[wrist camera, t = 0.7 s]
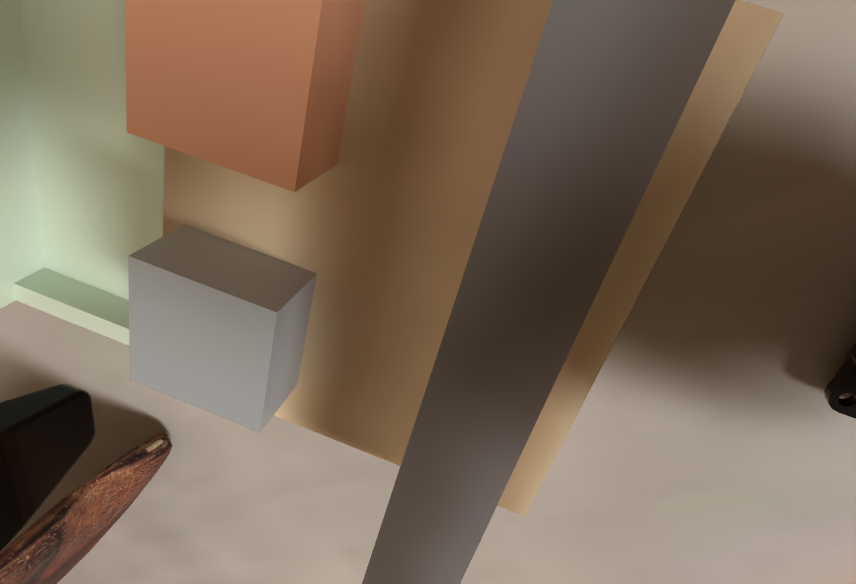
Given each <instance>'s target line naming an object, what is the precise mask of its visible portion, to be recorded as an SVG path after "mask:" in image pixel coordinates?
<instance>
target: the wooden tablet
mask: <svg viewBox="0 0 856 584" xmlns="http://www.w3.org/2000/svg"><path fill="white" fill-rule="evenodd" d="M171 448H172V444H171V441H170V439H169V438H168V437H167V436H164V435H157V436H154V437H153V438H151V439H149V440H148V441H146V442H144V443H143V444H141V445H140V446H138V447H136V448H134V449H132V450H131V451H129V452H128V453H127V454H125V455H124V456H122V457H120V458H119V459H117V460H116V461H115V462H113V463H112V464H111V465H109V466H108V467H107V468H105V469H104V470H103V471H101V472H100V473H99V474H98V475H96V476H95V477H94V478H92V479H91V480H90V481H88V482H87V483H85V484H83V485H82V486H80V487H79V488H77V489H76V490H75V491H73V492H72V493H71V494H69V495H68V496H67V497H65V498H64V499H63V500H61V501H60V502H59V503H57V504H56V505H55V506H54V507H52V508H51V509H50V510H49V511H48V512H47V513H45V514H44V515H43V516H42V517H41V518H40V519H39V520H37V521H36V522H35V523H34V524H33V525H32V526H31V527H30V528H29V529H27V530H26V531H25V532H24V533H23V534H21V535H20V536H19V537H18V538H16V539H15V540H14V541H13V542H12V543H11V544H9V545H8V546H7V547H6V548H5V549H4V550H3V551H2V552H1V553H0V584H57V583H58V582H59V581H60V580H61V579H62V578H63V577H64V576H65V575H66V574H67V573H68V572H69V571H70V570H71V569H72V568H73V567H74V566H75V565H76V564H77V563H78V562H79V561H80V560H81V559H82V558H83V557H84V556H85V555H86V554H87V553H88V552H89V551H90V550H91V549H92V548H93V547H94V546H95V545H96V543H97V542H98V541H99V540H100V539H101V538H102V537H103V536H104V535H105V533H106V532H107V531H108V530H109V529H110V528H111V527H112V525H113V524H114V523H115V522H116V521H117V520H118V519H119V518H120V517H121V515H122V514H123V513H124V512H125V511H126V510H127V509H128V507H129V506H130V505H131V504H132V503H133V501H134V500H135V499H136V498H137V496H138V495H139V494H140V493H141V491H142V490H143V489H144V487H145V486H146V485H147V484H148V482H149V481H150V480H151V479H152V477H153V476H154V475H155V473H156V472H157V471H158V469H159V468H160V467H161V465H162V464H163V462H164V461H165V459H166V458H167V456H168V455H169V453H170V450H171Z"/></svg>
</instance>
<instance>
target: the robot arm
mask: <svg viewBox="0 0 856 584" xmlns="http://www.w3.org/2000/svg"><path fill="white" fill-rule="evenodd" d="M850 353H851V355H850V357H849V358H848V359H847V361H846V362H845V363H844V364H843V366H842V367H841V368H840V369H839V371H838V372H837V373H836V375H835V376H834V377H833V378H832V380H831V381H830V382H829V383H828V385H827V386H826V388H825V390H824V394H825V398H826V400H827V401H828V403H829V405H830V406H831V408H832V409H833V410H835V411H837V412H839V413H842V414H845V415H847V416H850V417H853V418H856V343H855V344H854V345H853V346H852V348H851V349H850ZM844 393H853V394H852V395H851V396H850V397H849V398H845V399H841V398H839V396H841V395H842V394H844ZM95 431H96V426H95V420H94V413H93V407H92V401H91V397H90V395H89V393H88V392H87V391H85V390H82V389H79V388H77V387H74V386H71V385H68V384H60V385H56V386H53V387H50V388H46V389H43V390H40V391H37V392H33V393H30V394H27V395H23V396H20V397H17V398H14V399H10V400H7V401H4V402H0V552H1V551H2V550H3V549H4V548H5V546H6V545H7V544H8V543H9V542H10V541H11V540H12V539H13V538H14V537H15V536H16V535H17V534H18V533H19V531H20V530H21V529H22V528H23V527H24V526H25V525H26V524H27V522H28V521H29V520H30V519H31V518H32V516H33V515H34V514H35V513H36V512H37V510H38V509H39V508H40V507H41V505H42V504H43V503H44V502H45V500H46V499H47V498H48V497H49V495H50V494H51V493H52V492H53V490H54V489H55V488H56V487H57V485H58V484H59V483H60V482H61V480H62V479H63V478H64V477H65V475H66V474H67V473H68V472H69V470H70V469H71V468H72V467H73V465H74V464H75V463H76V462H77V460H78V459H79V458H80V457H81V455H82V454H83V453H84V452H85V450H86V449H87V448H88V447H89V445H90V444H91V442H92V440H93V438H94V436H95Z"/></svg>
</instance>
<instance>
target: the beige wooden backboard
mask: <svg viewBox="0 0 856 584" xmlns="http://www.w3.org/2000/svg"><path fill="white" fill-rule="evenodd" d="M552 3H553V0H366V2H365V8H364V13H363V19H362V24H361V30H360V36H359V41H358V47H357V52H356V58H355V64H354V69H353V75H352V80H351V86H350V92H349V97H348V103H347V108H346V114H345V120H344V125H343V131H342V136H341V142H340V148H339V153H338V159H337V164H336V165H335V166H334V167H332V168H331V169H329V170H328V171H326V172H325V173H323V174H322V175H320V176H319V177H317V178H316V179H314V180H312V181H311V182H309V183H308V184H306V185H305V186H303V187H302V188H300V189H299V190H297V191H296V192H292V191H290V190H287V189H284V188H281V187H278V186H276V185H273V184H270V183H267V182H264V181H262V180H259V179H256V178H253V177H250V176H248V175H245V174H242V173H239V172H236V171H234V170H231V169H228V168H225V167H222V166H220V165H217V164H214V163H211V162H208V161H205V160H203V159H200V158H197V157H194V156H191V155H189V154H186V153H183V152H180V151H177V150H175V149H172V148H169V147H166V146H165V152H164V199H163V236H165V235H166V234H168V233H170V232H172V231H174V230H175V229H177V228H179V227H181V226H182V225H184V224H185V225H188V226H190V227H193V228H196V229H198V230H201V231H204V232H207V233H209V234H212V235H215V236H217V237H220V238H223V239H225V240H228V241H231V242H233V243H236V244H239V245H242V246H244V247H247V248H250V249H252V250H255V251H258V252H260V253H263V254H266V255H269V256H271V257H274V258H277V259H279V260H282V261H285V262H287V263H290V264H293V265H295V266H298V267H301V268H304V269H306V270H309V271H312V272H314V273H317V276H316V282H315V288H314V293H313V299H312V304H311V310H310V316H309V321H308V327H307V332H306V338H305V344H304V349H303V355H302V360H301V366H300V372H299V377H298V383H297V386H296V387H295V388H294V390H293V391H292V392H291V393H290V395H289V396H288V397H287V399H286V400H285V401H284V402H283V404H282V405H281V406H280V408H279V409H278V410H277V411H276V413H275V414H274V415H275V416H277V417H280V418H282V419H285V420H287V421H290V422H292V423H295V424H297V425H300V426H302V427H304V428H307V429H309V430H312V431H314V432H317V433H319V434H322V435H324V436H327V437H329V438H332V439H334V440H337V441H339V442H342V443H344V444H347V445H349V446H352V447H354V448H357V449H359V450H362V451H364V452H367V453H369V454H372V455H374V456H376V457H379V458H381V459H384V460H386V461H389V462H391V463H394V464H396V465H399V466H401V464H402V461H403V457H404V454H405V451H406V448H407V445H408V442H409V439H410V436H411V433H412V430H413V427H414V424H415V421H416V418H417V415H418V412H419V409H420V406H421V403H422V399H423V396H424V393H425V390H426V387H427V384H428V381H429V378H430V375H431V372H432V369H433V366H434V363H435V360H436V357H437V354H438V351H439V348H440V345H441V342H442V338H443V335H444V332H445V329H446V326H447V323H448V320H449V317H450V314H451V311H452V308H453V305H454V302H455V299H456V296H457V293H458V290H459V287H460V284H461V280H462V277H463V274H464V271H465V268H466V265H467V262H468V259H469V256H470V253H471V250H472V247H473V244H474V241H475V238H476V235H477V232H478V229H479V226H480V222H481V219H482V216H483V213H484V210H485V207H486V204H487V201H488V198H489V195H490V192H491V189H492V186H493V183H494V180H495V177H496V174H497V171H498V168H499V164H500V161H501V158H502V155H503V152H504V149H505V146H506V143H507V140H508V137H509V134H510V131H511V128H512V125H513V122H514V119H515V116H516V113H517V110H518V107H519V103H520V100H521V97H522V94H523V91H524V88H525V85H526V82H527V79H528V76H529V73H530V70H531V67H532V64H533V61H534V58H535V55H536V52H537V49H538V45H539V42H540V39H541V36H542V33H543V30H544V27H545V24H546V21H547V18H548V15H549V12H550V9H551V6H552ZM783 15H784V13H781V12H778V11H774V10H771V9H767V8H764V7H761V6H757V5H754V4H750V3H747V2H743V1H740V0H736V1H735V3H734V5H733V7H732V9H731V11H730V13H729V15H728V18H727V20H726V22H725V24H724V26H723V28H722V30H721V32H720V34H719V37H718V39H717V41H716V43H715V45H714V47H713V49H712V51H711V53H710V56H709V58H708V60H707V62H706V64H705V66H704V68H703V70H702V73H701V75H700V77H699V79H698V81H697V83H696V85H695V87H694V89H693V92H692V94H691V96H690V98H689V100H688V102H687V104H686V106H685V109H684V111H683V113H682V115H681V117H680V119H679V121H678V123H677V125H676V128H675V130H674V132H673V134H672V136H671V138H670V140H669V142H668V144H667V147H666V149H665V151H664V153H663V155H662V157H661V159H660V161H659V164H658V166H657V168H656V170H655V172H654V174H653V176H652V178H651V180H650V183H649V185H648V187H647V189H646V191H645V193H644V195H643V197H642V200H641V202H640V204H639V206H638V208H637V210H636V212H635V214H634V216H633V219H632V221H631V223H630V225H629V227H628V229H627V231H626V233H625V235H624V238H623V240H622V242H621V244H620V246H619V248H618V250H617V252H616V255H615V257H614V259H613V261H612V263H611V265H610V267H609V269H608V271H607V274H606V276H605V278H604V280H603V282H602V284H601V286H600V288H599V290H598V293H597V295H596V297H595V299H594V301H593V303H592V305H591V307H590V310H589V312H588V314H587V316H586V318H585V320H584V322H583V324H582V326H581V329H580V331H579V333H578V335H577V337H576V339H575V341H574V343H573V346H572V348H571V350H570V352H569V354H568V356H567V358H566V360H565V362H564V365H563V367H562V369H561V371H560V373H559V375H558V377H557V379H556V381H555V384H554V386H553V388H552V390H551V392H550V394H549V396H548V398H547V401H546V403H545V405H544V407H543V409H542V411H541V413H540V415H539V417H538V420H537V422H536V424H535V426H534V428H533V430H532V432H531V434H530V436H529V439H528V441H527V443H526V445H525V447H524V449H523V451H522V453H521V456H520V458H519V460H518V462H517V464H516V466H515V468H514V470H513V472H512V475H511V477H510V479H509V481H508V483H507V485H506V487H505V489H504V492H503V494H502V496H501V498H500V500H499V502H498V504H497V505H498V506H501V507H503V508H506V509H508V510H511V511H513V512H516V513H518V514H520V515H523V516H525V514H526V512H527V510H528V509H529V507H530V505H531V503H532V501H533V499H534V497H535V495H536V493H537V491H538V489H539V487H540V485H541V483H542V481H543V479H544V478H545V476H546V474H547V472H548V470H549V468H550V466H551V464H552V462H553V460H554V458H555V456H556V454H557V452H558V450H559V448H560V447H561V445H562V443H563V441H564V439H565V437H566V435H567V433H568V431H569V429H570V427H571V425H572V423H573V421H574V419H575V418H576V416H577V414H578V412H579V410H580V408H581V406H582V404H583V402H584V400H585V398H586V396H587V394H588V392H589V390H590V388H591V387H592V385H593V383H594V381H595V379H596V377H597V375H598V373H599V371H600V369H601V367H602V365H603V363H604V361H605V359H606V358H607V356H608V354H609V352H610V350H611V348H612V346H613V344H614V342H615V340H616V338H617V336H618V334H619V332H620V330H621V328H622V327H623V325H624V323H625V321H626V319H627V317H628V315H629V313H630V311H631V309H632V307H633V305H634V303H635V301H636V299H637V298H638V296H639V294H640V292H641V290H642V288H643V286H644V284H645V282H646V280H647V278H648V276H649V274H650V272H651V270H652V268H653V267H654V265H655V263H656V261H657V259H658V257H659V255H660V253H661V251H662V249H663V247H664V245H665V243H666V241H667V239H668V238H669V236H670V234H671V232H672V230H673V228H674V226H675V224H676V222H677V220H678V218H679V216H680V214H681V212H682V210H683V208H684V207H685V205H686V203H687V201H688V199H689V197H690V195H691V193H692V191H693V189H694V187H695V185H696V183H697V181H698V179H699V178H700V176H701V174H702V172H703V170H704V168H705V166H706V164H707V162H708V160H709V158H710V156H711V154H712V152H713V150H714V148H715V147H716V145H717V143H718V141H719V139H720V137H721V135H722V133H723V131H724V129H725V127H726V125H727V123H728V121H729V119H730V117H731V116H732V114H733V112H734V110H735V108H736V106H737V104H738V102H739V100H740V98H741V96H742V94H743V92H744V90H745V88H746V87H747V85H748V83H749V81H750V79H751V77H752V75H753V73H754V71H755V69H756V67H757V65H758V63H759V61H760V59H761V57H762V56H763V54H764V52H765V50H766V48H767V46H768V44H769V42H770V40H771V38H772V36H773V34H774V32H775V30H776V28H777V27H778V25H779V23H780V21H781V19H782V17H783Z"/></svg>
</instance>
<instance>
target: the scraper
mask: <svg viewBox="0 0 856 584" xmlns="http://www.w3.org/2000/svg"><path fill="white" fill-rule="evenodd" d="M735 1H736V0H553V3H552V6H551V9H550V12H549V15H548V18H547V21H546V24H545V27H544V30H543V33H542V36H541V39H540V42H539V45H538V49H537V52H536V55H535V58H534V61H533V64H532V67H531V70H530V73H529V76H528V79H527V82H526V85H525V88H524V91H523V94H522V97H521V100H520V103H519V107H518V110H517V113H516V116H515V119H514V122H513V125H512V128H511V131H510V134H509V137H508V140H507V143H506V146H505V149H504V152H503V155H502V158H501V161H500V164H499V168H498V171H497V174H496V177H495V180H494V183H493V186H492V189H491V192H490V195H489V198H488V201H487V204H486V207H485V210H484V213H483V216H482V219H481V222H480V226H479V229H478V232H477V235H476V238H475V241H474V244H473V247H472V250H471V253H470V256H469V259H468V262H467V265H466V268H465V271H464V274H463V277H462V280H461V284H460V287H459V290H458V293H457V296H456V299H455V302H454V305H453V308H452V311H451V314H450V317H449V320H448V323H447V326H446V329H445V332H444V335H443V338H442V342H441V345H440V348H439V351H438V354H437V357H436V360H435V363H434V366H433V369H432V372H431V375H430V378H429V381H428V384H427V387H426V390H425V393H424V396H423V399H422V403H421V406H420V409H419V412H418V415H417V418H416V421H415V424H414V427H413V430H412V433H411V436H410V439H409V442H408V445H407V448H406V451H405V454H404V457H403V461H402V464H401V467H400V470H399V473H398V476H397V479H396V482H395V485H394V488H393V491H392V494H391V497H390V500H389V503H388V506H387V509H386V512H385V515H384V519H383V522H382V525H381V528H380V531H379V534H378V537H377V540H376V543H375V546H374V549H373V552H372V555H371V558H370V561H369V564H368V567H367V570H366V573H365V577H364V580H363V583H362V584H460V583H461V580H462V578H463V576H464V574H465V572H466V570H467V568H468V566H469V563H470V561H471V559H472V557H473V555H474V553H475V551H476V549H477V547H478V544H479V542H480V540H481V538H482V536H483V534H484V532H485V530H486V527H487V525H488V523H489V521H490V519H491V517H492V515H493V513H494V511H495V508H496V506H497V504H498V502H499V500H500V498H501V496H502V494H503V492H504V489H505V487H506V485H507V483H508V481H509V479H510V477H511V475H512V472H513V470H514V468H515V466H516V464H517V462H518V460H519V458H520V456H521V453H522V451H523V449H524V447H525V445H526V443H527V441H528V439H529V436H530V434H531V432H532V430H533V428H534V426H535V424H536V422H537V420H538V417H539V415H540V413H541V411H542V409H543V407H544V405H545V403H546V401H547V398H548V396H549V394H550V392H551V390H552V388H553V386H554V384H555V381H556V379H557V377H558V375H559V373H560V371H561V369H562V367H563V365H564V362H565V360H566V358H567V356H568V354H569V352H570V350H571V348H572V346H573V343H574V341H575V339H576V337H577V335H578V333H579V331H580V329H581V326H582V324H583V322H584V320H585V318H586V316H587V314H588V312H589V310H590V307H591V305H592V303H593V301H594V299H595V297H596V295H597V293H598V290H599V288H600V286H601V284H602V282H603V280H604V278H605V276H606V274H607V271H608V269H609V267H610V265H611V263H612V261H613V259H614V257H615V255H616V252H617V250H618V248H619V246H620V244H621V242H622V240H623V238H624V235H625V233H626V231H627V229H628V227H629V225H630V223H631V221H632V219H633V216H634V214H635V212H636V210H637V208H638V206H639V204H640V202H641V200H642V197H643V195H644V193H645V191H646V189H647V187H648V185H649V183H650V180H651V178H652V176H653V174H654V172H655V170H656V168H657V166H658V164H659V161H660V159H661V157H662V155H663V153H664V151H665V149H666V147H667V144H668V142H669V140H670V138H671V136H672V134H673V132H674V130H675V128H676V125H677V123H678V121H679V119H680V117H681V115H682V113H683V111H684V109H685V106H686V104H687V102H688V100H689V98H690V96H691V94H692V92H693V89H694V87H695V85H696V83H697V81H698V79H699V77H700V75H701V73H702V70H703V68H704V66H705V64H706V62H707V60H708V58H709V56H710V53H711V51H712V49H713V47H714V45H715V43H716V41H717V39H718V37H719V34H720V32H721V30H722V28H723V26H724V24H725V22H726V20H727V18H728V15H729V13H730V11H731V9H732V7H733V5H734V3H735Z"/></svg>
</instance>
